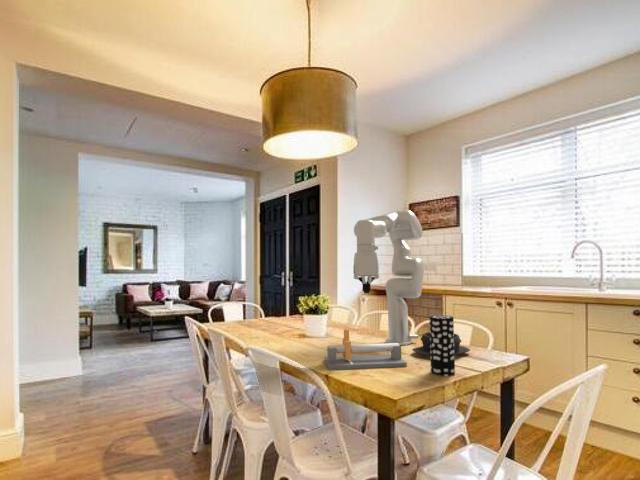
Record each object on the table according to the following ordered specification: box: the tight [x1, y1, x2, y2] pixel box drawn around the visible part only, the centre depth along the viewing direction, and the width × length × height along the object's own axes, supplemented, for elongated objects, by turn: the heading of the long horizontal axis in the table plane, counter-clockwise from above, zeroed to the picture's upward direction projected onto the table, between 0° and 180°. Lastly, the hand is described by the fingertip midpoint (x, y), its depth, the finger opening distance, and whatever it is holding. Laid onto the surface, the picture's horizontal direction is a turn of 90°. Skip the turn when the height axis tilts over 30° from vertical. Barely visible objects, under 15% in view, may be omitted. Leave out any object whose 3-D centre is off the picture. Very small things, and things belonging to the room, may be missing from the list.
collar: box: [342, 328, 352, 360], centre depth 155 cm, size 2×7×11 cm, turn 6°
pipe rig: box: [324, 342, 408, 371], centre depth 156 cm, size 30×14×8 cm, turn 96°
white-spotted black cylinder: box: [428, 314, 456, 377], centre depth 142 cm, size 8×8×20 cm
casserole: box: [412, 331, 471, 356], centre depth 170 cm, size 25×19×8 cm
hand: (366, 293), depth 164 cm, fingers closed
